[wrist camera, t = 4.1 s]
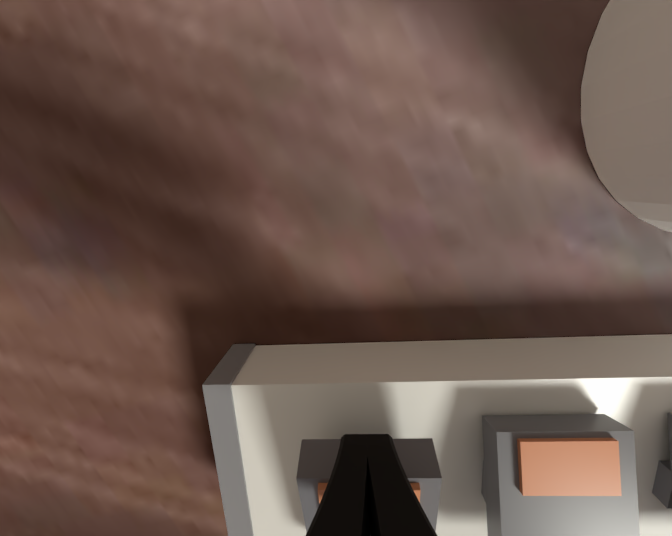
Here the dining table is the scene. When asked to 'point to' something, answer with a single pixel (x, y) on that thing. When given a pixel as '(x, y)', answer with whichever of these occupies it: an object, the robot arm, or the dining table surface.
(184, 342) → the dining table surface
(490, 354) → the power strip
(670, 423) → the block
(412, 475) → the rocker
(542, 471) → the rocker
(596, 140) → the bottle
